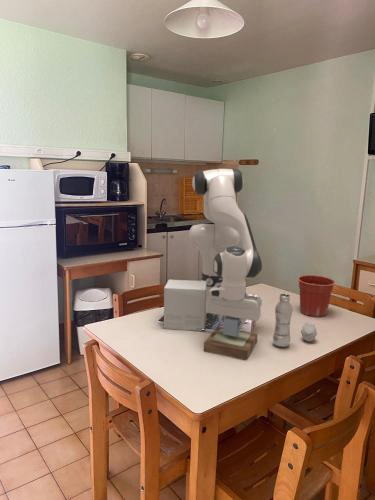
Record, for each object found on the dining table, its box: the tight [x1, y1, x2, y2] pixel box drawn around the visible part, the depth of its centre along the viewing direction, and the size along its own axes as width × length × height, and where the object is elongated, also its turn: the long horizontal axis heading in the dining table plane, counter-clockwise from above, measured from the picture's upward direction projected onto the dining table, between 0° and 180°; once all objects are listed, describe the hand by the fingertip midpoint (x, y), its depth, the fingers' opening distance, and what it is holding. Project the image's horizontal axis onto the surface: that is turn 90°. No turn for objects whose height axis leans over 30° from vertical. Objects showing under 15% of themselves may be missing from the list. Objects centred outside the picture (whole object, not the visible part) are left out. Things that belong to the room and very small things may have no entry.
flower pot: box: [297, 274, 336, 318], centre depth 177 cm, size 16×16×16 cm
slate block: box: [223, 316, 242, 336], centre depth 141 cm, size 5×5×6 cm
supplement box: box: [163, 279, 207, 332], centre depth 161 cm, size 17×13×18 cm
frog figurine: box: [300, 322, 318, 342], centre depth 148 cm, size 6×7×7 cm
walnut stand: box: [203, 326, 259, 361], centre depth 142 cm, size 16×16×4 cm
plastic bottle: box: [272, 293, 294, 348], centre depth 142 cm, size 6×7×20 cm
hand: (232, 327), depth 141 cm, fingers closed on slate block, 5 cm apart
